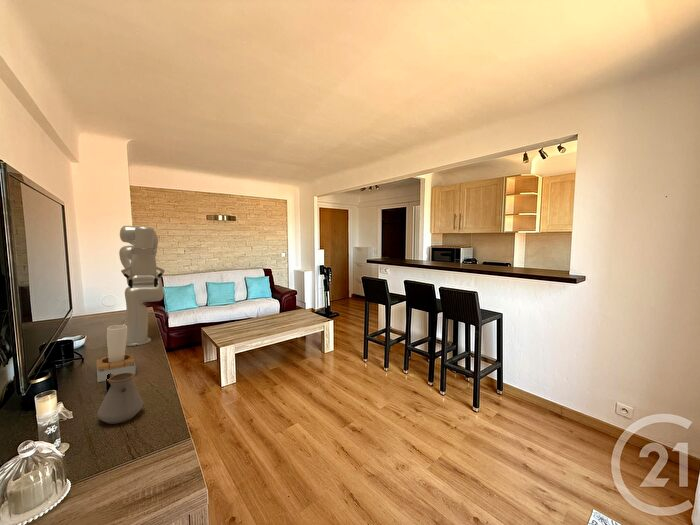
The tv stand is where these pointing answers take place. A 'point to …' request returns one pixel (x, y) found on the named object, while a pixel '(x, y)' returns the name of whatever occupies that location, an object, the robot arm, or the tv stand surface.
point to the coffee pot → (120, 400)
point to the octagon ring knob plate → (115, 367)
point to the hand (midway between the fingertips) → (143, 287)
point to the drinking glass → (116, 343)
